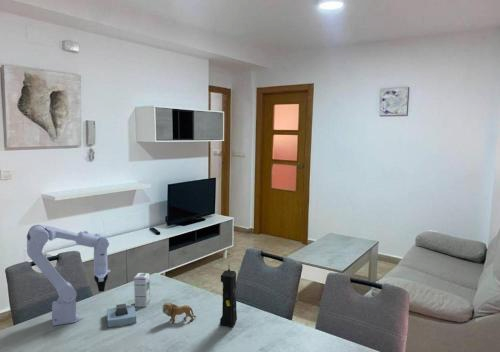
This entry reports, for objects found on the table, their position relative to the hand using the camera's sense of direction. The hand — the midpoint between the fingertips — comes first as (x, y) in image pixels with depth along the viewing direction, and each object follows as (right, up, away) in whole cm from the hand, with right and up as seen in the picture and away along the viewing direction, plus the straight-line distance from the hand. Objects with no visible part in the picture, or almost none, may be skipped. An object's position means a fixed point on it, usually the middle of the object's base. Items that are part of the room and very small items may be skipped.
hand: (101, 291), depth 174 cm
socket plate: (+11, -11, -6) cm, 17 cm away
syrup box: (+16, -9, +9) cm, 20 cm away
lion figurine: (+36, -11, -7) cm, 39 cm away
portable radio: (+58, -12, -8) cm, 60 cm away
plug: (+11, -11, -6) cm, 17 cm away
